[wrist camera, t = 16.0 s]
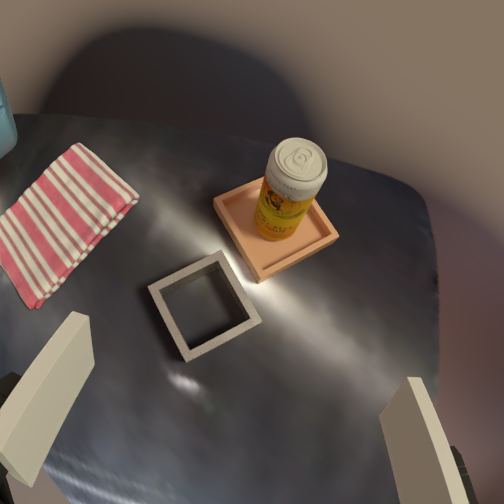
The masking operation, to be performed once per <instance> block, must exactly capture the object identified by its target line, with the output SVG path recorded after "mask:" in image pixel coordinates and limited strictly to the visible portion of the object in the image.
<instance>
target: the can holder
mask: <svg viewBox="0 0 504 504" xmlns="http://www.w3.org/2000/svg"><path fill="white" fill-rule="evenodd" d="M216 269H218V271H219V272H220V274H221V276H222V278H223V280H224V281H225V283H226V285H227V287H228V289H229V290H230V292H231V294H232V296H233V297H234V299H235V301H236V303H237V305H238V306H239V308H240V310H241V312H242V313H243V315H244V317H245V319H246V320H247V321H245V322H243V323H241V324H240V325H238V326H236V327H234V328H232V329H230V330H228V331H227V332H225V333H223V334H221V335H219V336H217V337H215V338H213V339H212V340H210V341H208V342H206V343H204V344H202V345H200V346H198V347H196V348H194V349H192V350H190V348H189V346H188V344H187V342H186V340H185V339H184V337H183V335H182V333H181V331H180V329H179V327H178V325H177V323H176V321H175V319H174V318H173V316H172V314H171V312H170V310H169V308H168V306H167V304H166V302H165V300H164V298H163V296H164V295H166V294H168V293H170V292H172V291H174V290H176V289H178V288H180V287H182V286H184V285H186V284H188V283H190V282H192V281H194V280H196V279H198V278H200V277H202V276H204V275H206V274H208V273H210V272H212V271H214V270H216ZM148 288H149V291H150V293H151V295H152V297H153V299H154V301H155V303H156V305H157V307H158V309H159V311H160V313H161V315H162V317H163V319H164V321H165V323H166V325H167V327H168V329H169V331H170V333H171V335H172V337H173V339H174V341H175V343H176V345H177V346H178V348H179V350H180V352H181V354H182V356H183V358H184V359H185V361H186V363H189V362H191V361H193V360H195V359H197V358H199V357H201V356H202V355H204V354H206V353H208V352H210V351H212V350H214V349H216V348H218V347H220V346H221V345H223V344H225V343H227V342H229V341H231V340H233V339H234V338H236V337H238V336H240V335H242V334H244V333H245V332H247V331H249V330H251V329H253V328H254V327H256V326H258V325H259V324H260V323H262V320H261V318H260V317H259V315H258V313H257V311H256V310H255V308H254V306H253V304H252V303H251V301H250V299H249V298H248V296H247V294H246V292H245V291H244V289H243V287H242V285H241V284H240V282H239V280H238V278H237V277H236V275H235V273H234V271H233V270H232V268H231V266H230V264H229V263H228V261H227V259H226V257H225V256H224V254H223V252H222V250H220V251H218V252H216V253H214V254H212V255H210V256H208V257H206V258H204V259H202V260H200V261H198V262H196V263H193V264H191V265H189V266H187V267H185V268H183V269H181V270H179V271H177V272H175V273H173V274H171V275H169V276H167V277H165V278H163V279H161V280H159V281H157V282H155V283H153V284H151V285H149V286H148Z"/></svg>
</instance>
